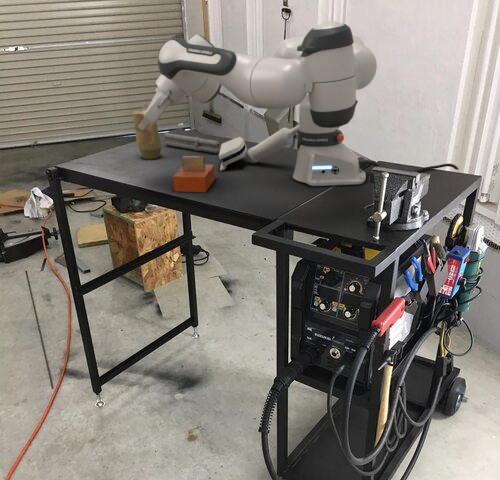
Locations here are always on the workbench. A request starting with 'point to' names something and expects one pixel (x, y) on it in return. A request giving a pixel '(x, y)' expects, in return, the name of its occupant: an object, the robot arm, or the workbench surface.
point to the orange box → (194, 180)
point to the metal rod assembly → (196, 140)
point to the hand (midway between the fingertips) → (141, 126)
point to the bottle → (271, 144)
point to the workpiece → (142, 135)
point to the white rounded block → (232, 151)
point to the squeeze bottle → (151, 149)
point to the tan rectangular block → (193, 163)
